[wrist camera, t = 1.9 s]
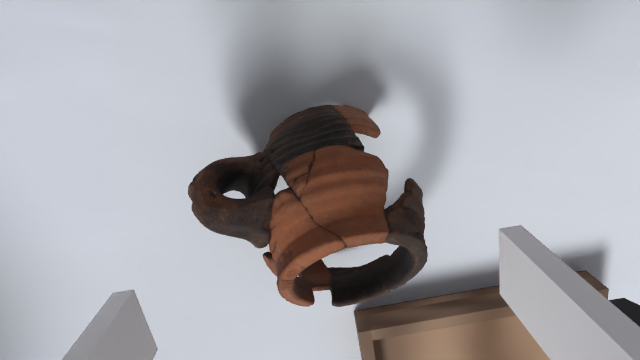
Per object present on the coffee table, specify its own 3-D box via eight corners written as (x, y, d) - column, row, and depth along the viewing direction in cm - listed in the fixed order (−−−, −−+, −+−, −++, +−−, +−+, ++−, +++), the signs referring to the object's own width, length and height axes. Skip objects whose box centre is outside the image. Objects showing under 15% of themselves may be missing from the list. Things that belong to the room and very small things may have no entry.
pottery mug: (418, 102, 22) (487, 221, 16) (358, 205, 28) (393, 314, 23) (194, 70, 18) (191, 215, 12) (184, 200, 24) (179, 331, 19)
